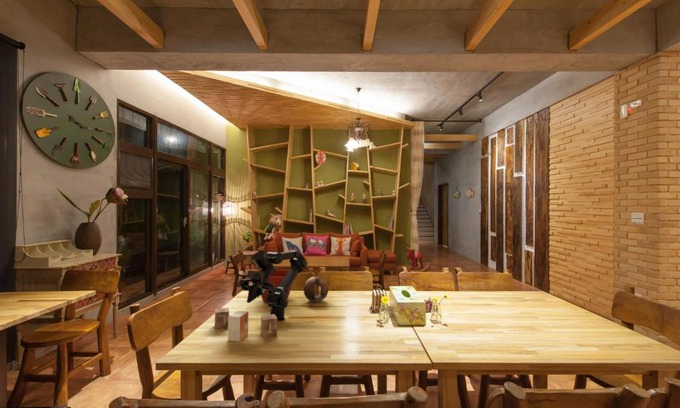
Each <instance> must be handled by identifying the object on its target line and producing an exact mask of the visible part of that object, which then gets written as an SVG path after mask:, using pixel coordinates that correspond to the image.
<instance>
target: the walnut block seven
mask: <svg viewBox="0 0 680 408" xmlns="http://www.w3.org/2000/svg"><path fill="white" fill-rule="evenodd" d="M228 316H230V309H229V307H221V308H215V309H214V330H215V331H219V330H220V331H221V330H228Z"/></svg>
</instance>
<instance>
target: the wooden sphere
mask: <svg viewBox="0 0 680 408" xmlns="http://www.w3.org/2000/svg"><path fill="white" fill-rule="evenodd" d="M328 293H329V285H328V283H327V281H326V280H325V279H324V278H322V277H320V276H312V277H310V278H308V279H307V280H306V281H305V283H304V285H303V294H304V296H305V298H306V299H307V300H308V301H310V302H312V303H320V302H322V301H323V300H325V299H326V298H327V295H328Z"/></svg>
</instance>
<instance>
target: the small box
mask: <svg viewBox="0 0 680 408" xmlns="http://www.w3.org/2000/svg"><path fill="white" fill-rule="evenodd" d="M248 336H249V311H248V310H247V311H245V310H236V311H235V312H234V313H231V314H229V316H228V329H227V341H228V342H231V341H232V342H238V343H240V342H241V341H242V340H243V339H245V338H246V337H248Z"/></svg>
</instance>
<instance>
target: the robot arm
mask: <svg viewBox="0 0 680 408" xmlns="http://www.w3.org/2000/svg"><path fill="white" fill-rule="evenodd" d="M288 260H289V263H290V268H289V269H288V270H289V272H288V273H287V275H286V276H285V277H284V279H283V280H282V282H281V283H280V285H279V286H278V287H277V288H275V287H274V285H273V284H272V283H268V282H267V281H269V280H270V279H269V277H270V275H271V273H272V272H276V270H277V269H276V266H275V265H280V264H282V262H283V261H288ZM252 261H253V262H254V264H255V266H257V268H258V271H255V270H247V273H246V278H248V279H249V280H250V281H249V280H248V279H246V278H241V279H239V281H238V283H237V284H238V285H239V287H241V289H242V290H243V291H248V292H247V298H246V303H247V304H250V303H252V302H253V301H255V300H256V299H257V298H258V297H261V295H262V294H264V293H263V292H264V291H265V290H269V294H268V296H267V303H266V304H267V306H268V307H269V308H270V309H269V315H272V314H275V316H276V317H277V322H278V321H285V320H286V318H285V309H286V308H287V307H288V305H289V304H288V303H289V302H288V300H287V301H286V299H285V298H286V294H285V293H286V291H287V290H288V288H289V287H290V285H291V284H292V285H293V282H294V280H295V279H296V278H297V276H298V274H300V273H302V272H304V270H305V269H306V268H307V266H308V261H307V260H306V257H305V256H303V255H302V254H301V253H300V251H299V250H293V249H291V250H287V251H286V250H285V251H282V252H276V251H268V252H265V250H264V249H260V250H259V251H257V252H255V253H254V254H253V255H252Z"/></svg>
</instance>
